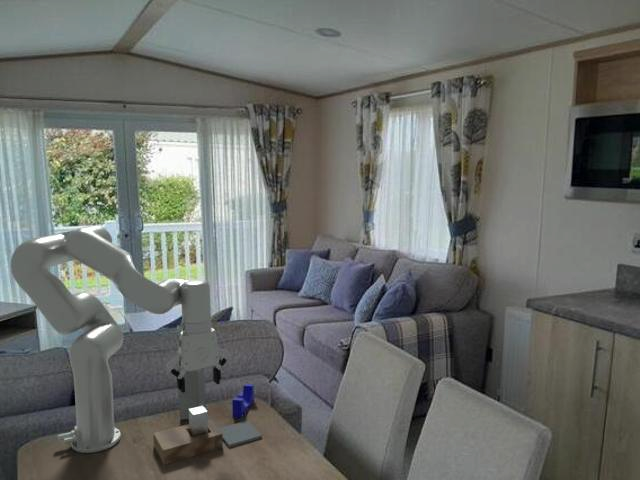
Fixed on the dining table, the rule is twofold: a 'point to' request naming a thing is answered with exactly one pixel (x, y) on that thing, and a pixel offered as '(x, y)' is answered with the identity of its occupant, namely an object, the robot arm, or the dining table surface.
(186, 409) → the skincare box
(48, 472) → the dining table surface
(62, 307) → the robot arm
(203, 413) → the steel bar
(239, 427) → the rubber mat
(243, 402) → the cable clip
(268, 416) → the dining table surface
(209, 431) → the wooden block with hole
